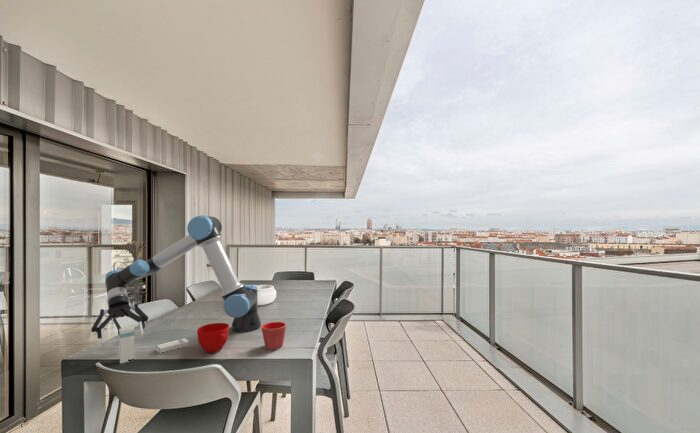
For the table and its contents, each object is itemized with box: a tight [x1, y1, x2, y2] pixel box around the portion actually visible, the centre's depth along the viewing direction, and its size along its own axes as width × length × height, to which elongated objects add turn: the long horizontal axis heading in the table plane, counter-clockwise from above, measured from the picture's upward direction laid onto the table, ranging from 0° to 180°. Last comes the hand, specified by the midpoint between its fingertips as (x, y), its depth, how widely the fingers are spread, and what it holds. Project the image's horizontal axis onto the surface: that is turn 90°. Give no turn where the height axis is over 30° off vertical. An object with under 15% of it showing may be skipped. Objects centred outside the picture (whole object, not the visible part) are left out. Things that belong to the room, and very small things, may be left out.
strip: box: [155, 338, 190, 354], centre depth 136 cm, size 12×6×2 cm, turn 135°
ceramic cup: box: [196, 322, 230, 354], centre depth 132 cm, size 13×17×10 cm
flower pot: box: [261, 321, 287, 351], centre depth 136 cm, size 11×11×10 cm
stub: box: [118, 325, 136, 364], centre depth 124 cm, size 5×5×13 cm
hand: (123, 339), depth 129 cm, fingers open, 13 cm apart
